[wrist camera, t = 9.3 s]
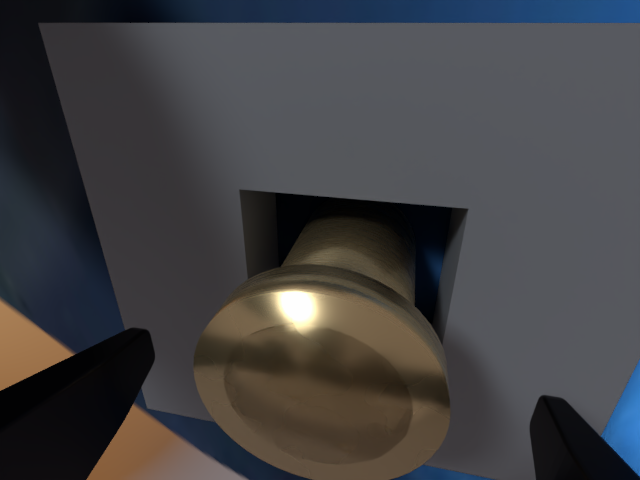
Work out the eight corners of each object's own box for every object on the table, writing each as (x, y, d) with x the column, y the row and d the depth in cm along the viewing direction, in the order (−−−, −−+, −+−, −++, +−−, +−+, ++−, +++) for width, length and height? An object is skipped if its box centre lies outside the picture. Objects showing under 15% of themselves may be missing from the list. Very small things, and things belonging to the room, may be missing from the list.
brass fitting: (288, 296, 16) (209, 456, 10) (283, 166, 14) (174, 275, 8) (425, 315, 15) (430, 505, 9) (448, 178, 13) (474, 315, 7)
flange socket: (184, 356, 19) (147, 408, 16) (116, 24, 13) (37, 22, 10) (546, 419, 16) (571, 494, 13) (702, 25, 10) (808, 23, 7)
